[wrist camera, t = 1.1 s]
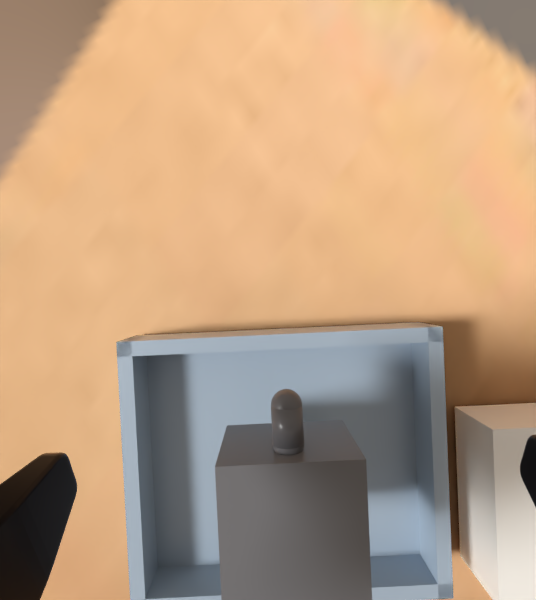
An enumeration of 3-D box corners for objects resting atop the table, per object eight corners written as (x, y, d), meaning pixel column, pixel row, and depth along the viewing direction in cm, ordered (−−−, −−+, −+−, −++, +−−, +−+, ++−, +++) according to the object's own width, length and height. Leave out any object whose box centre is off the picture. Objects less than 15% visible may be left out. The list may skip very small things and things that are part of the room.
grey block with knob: (335, 498, 17) (372, 608, 11) (237, 503, 17) (222, 615, 11) (329, 359, 17) (363, 394, 11) (230, 363, 17) (211, 401, 11)
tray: (428, 557, 18) (453, 598, 16) (149, 571, 18) (131, 614, 15) (418, 322, 18) (442, 326, 15) (136, 335, 18) (116, 342, 15)
